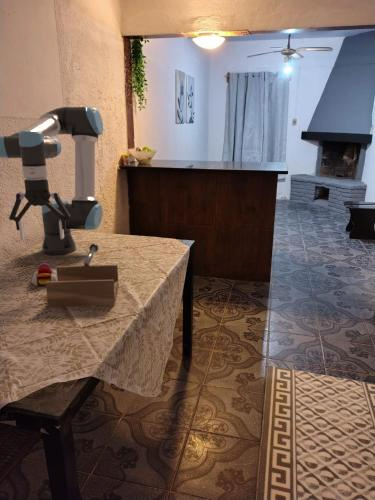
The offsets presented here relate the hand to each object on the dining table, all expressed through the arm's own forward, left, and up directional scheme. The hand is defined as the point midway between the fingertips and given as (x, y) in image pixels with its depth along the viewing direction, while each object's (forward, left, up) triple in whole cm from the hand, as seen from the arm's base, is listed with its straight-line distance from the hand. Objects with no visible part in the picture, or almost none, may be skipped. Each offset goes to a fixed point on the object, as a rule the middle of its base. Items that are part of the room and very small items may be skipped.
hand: (42, 238), depth 135 cm
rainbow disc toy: (-1, -1, -17) cm, 18 cm away
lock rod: (-2, +16, -9) cm, 18 cm away
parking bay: (+13, +16, -17) cm, 27 cm away
